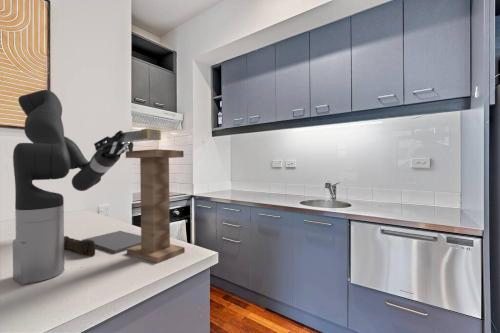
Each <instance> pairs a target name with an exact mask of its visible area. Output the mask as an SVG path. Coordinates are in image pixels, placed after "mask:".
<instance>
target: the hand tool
mask: <svg viewBox="0 0 500 333" xmlns="http://www.w3.org/2000/svg"><path fill="white" fill-rule="evenodd" d="M96 249H97V247H95V242H94V241H92V240H90V239H89V240H83V239H81V240H79V239H75V238H72V237H69V236H67V235H64V250H68V251H74V252H78V253H79V255H80V256H86V257H89V256H91V257H92V256H95V255H96Z"/></svg>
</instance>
